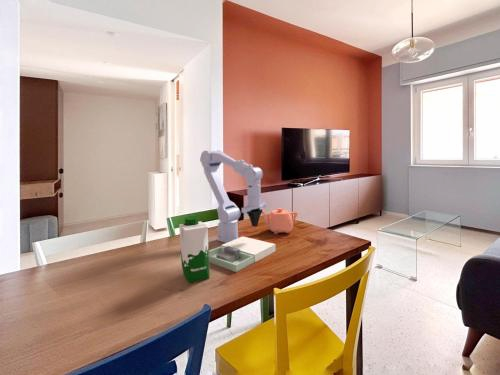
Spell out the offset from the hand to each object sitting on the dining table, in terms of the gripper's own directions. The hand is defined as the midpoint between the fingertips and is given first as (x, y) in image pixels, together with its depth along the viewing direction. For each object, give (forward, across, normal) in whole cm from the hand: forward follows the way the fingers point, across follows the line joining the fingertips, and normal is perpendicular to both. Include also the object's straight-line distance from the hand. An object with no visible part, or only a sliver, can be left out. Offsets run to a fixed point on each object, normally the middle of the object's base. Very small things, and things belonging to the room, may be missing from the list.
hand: (254, 226), depth 118 cm
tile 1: (+6, -20, -2) cm, 21 cm away
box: (+9, -19, -2) cm, 21 cm away
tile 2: (+7, -16, -2) cm, 17 cm away
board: (+9, -7, -2) cm, 12 cm away
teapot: (+10, +24, +4) cm, 26 cm away
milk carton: (+9, -35, -2) cm, 36 cm away
